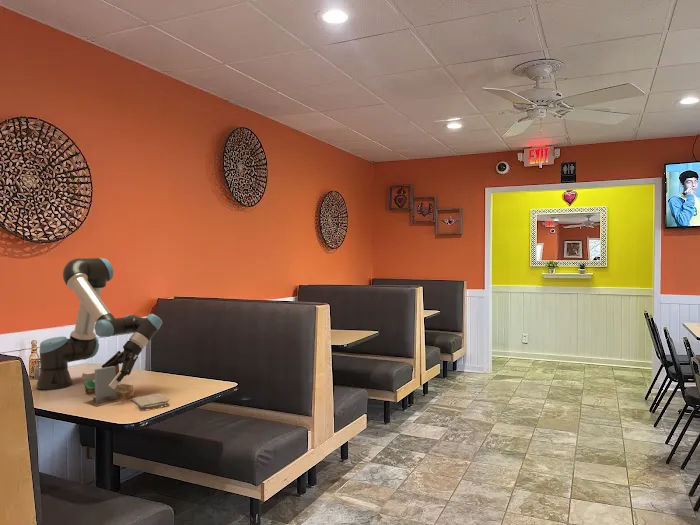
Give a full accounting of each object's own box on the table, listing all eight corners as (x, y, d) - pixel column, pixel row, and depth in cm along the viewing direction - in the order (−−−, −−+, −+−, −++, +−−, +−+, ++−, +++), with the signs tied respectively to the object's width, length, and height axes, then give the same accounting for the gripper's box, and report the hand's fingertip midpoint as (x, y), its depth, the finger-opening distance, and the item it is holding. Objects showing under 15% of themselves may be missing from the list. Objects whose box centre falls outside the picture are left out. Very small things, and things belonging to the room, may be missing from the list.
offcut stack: (124, 394, 234) (124, 383, 234) (134, 396, 229) (133, 385, 229) (113, 396, 230) (112, 385, 230) (122, 399, 225) (122, 388, 225)
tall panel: (114, 398, 227) (113, 366, 227) (116, 398, 226) (115, 366, 226) (95, 402, 221) (94, 369, 221) (97, 403, 220) (96, 369, 220)
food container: (79, 397, 234) (78, 375, 233) (82, 394, 239) (82, 372, 239) (109, 395, 237) (108, 373, 237) (111, 391, 243) (111, 370, 243)
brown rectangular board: (123, 395, 236) (123, 388, 236) (137, 399, 228) (137, 392, 228) (82, 404, 222) (82, 397, 222) (96, 409, 214) (96, 401, 214)
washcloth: (141, 412, 210) (141, 405, 210) (129, 403, 224) (129, 396, 224) (171, 407, 217) (171, 399, 217) (157, 398, 231) (157, 391, 231)
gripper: (156, 352, 228) (124, 394, 217) (126, 347, 244) (95, 386, 232) (145, 341, 224) (111, 384, 213) (115, 337, 240) (82, 376, 228)
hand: (103, 385), depth 222 cm, fingers open, 13 cm apart
